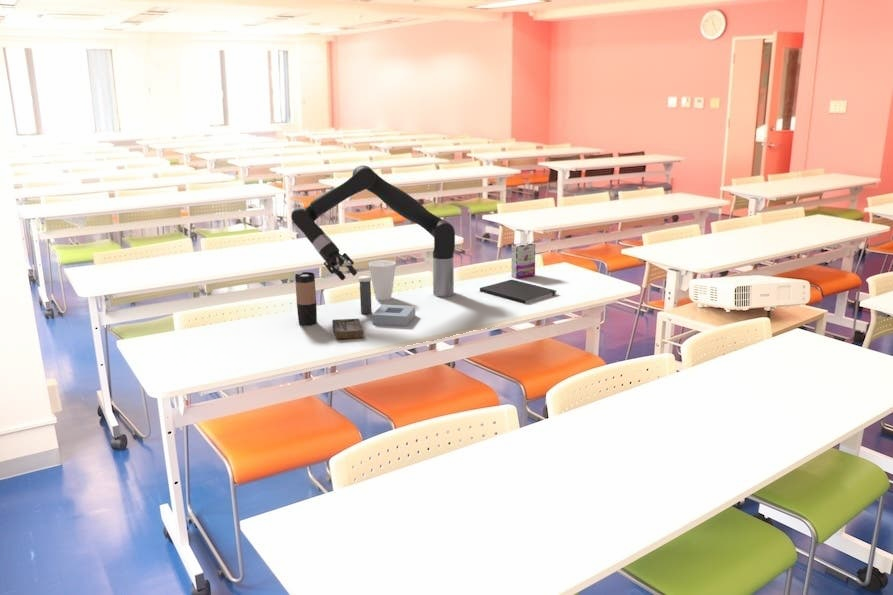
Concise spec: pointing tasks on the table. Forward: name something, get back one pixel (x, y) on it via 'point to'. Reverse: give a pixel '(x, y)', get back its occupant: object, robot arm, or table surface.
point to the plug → (365, 294)
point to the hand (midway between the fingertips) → (349, 276)
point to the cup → (382, 278)
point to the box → (347, 328)
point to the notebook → (518, 291)
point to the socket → (393, 315)
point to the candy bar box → (523, 260)
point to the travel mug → (306, 298)
